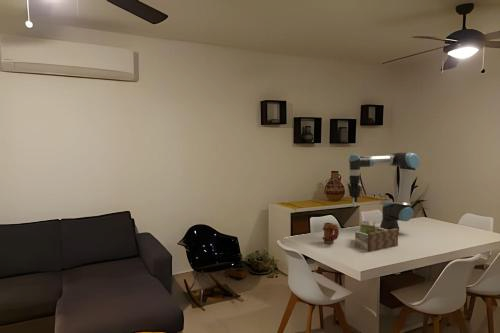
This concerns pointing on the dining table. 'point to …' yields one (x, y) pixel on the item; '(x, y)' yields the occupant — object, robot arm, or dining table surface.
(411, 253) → the dining table surface
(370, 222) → the tea box
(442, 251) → the dining table surface
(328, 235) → the reddish-brown rounded piece
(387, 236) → the patterned planter box
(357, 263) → the dining table surface
